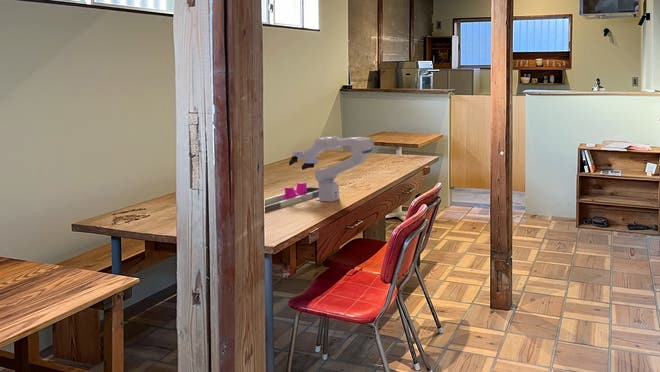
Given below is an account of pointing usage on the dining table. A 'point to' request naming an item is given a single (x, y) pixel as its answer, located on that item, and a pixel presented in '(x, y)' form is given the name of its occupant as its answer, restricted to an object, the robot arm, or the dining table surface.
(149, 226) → the dining table surface
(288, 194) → the toy block
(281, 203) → the long grey tray strip
